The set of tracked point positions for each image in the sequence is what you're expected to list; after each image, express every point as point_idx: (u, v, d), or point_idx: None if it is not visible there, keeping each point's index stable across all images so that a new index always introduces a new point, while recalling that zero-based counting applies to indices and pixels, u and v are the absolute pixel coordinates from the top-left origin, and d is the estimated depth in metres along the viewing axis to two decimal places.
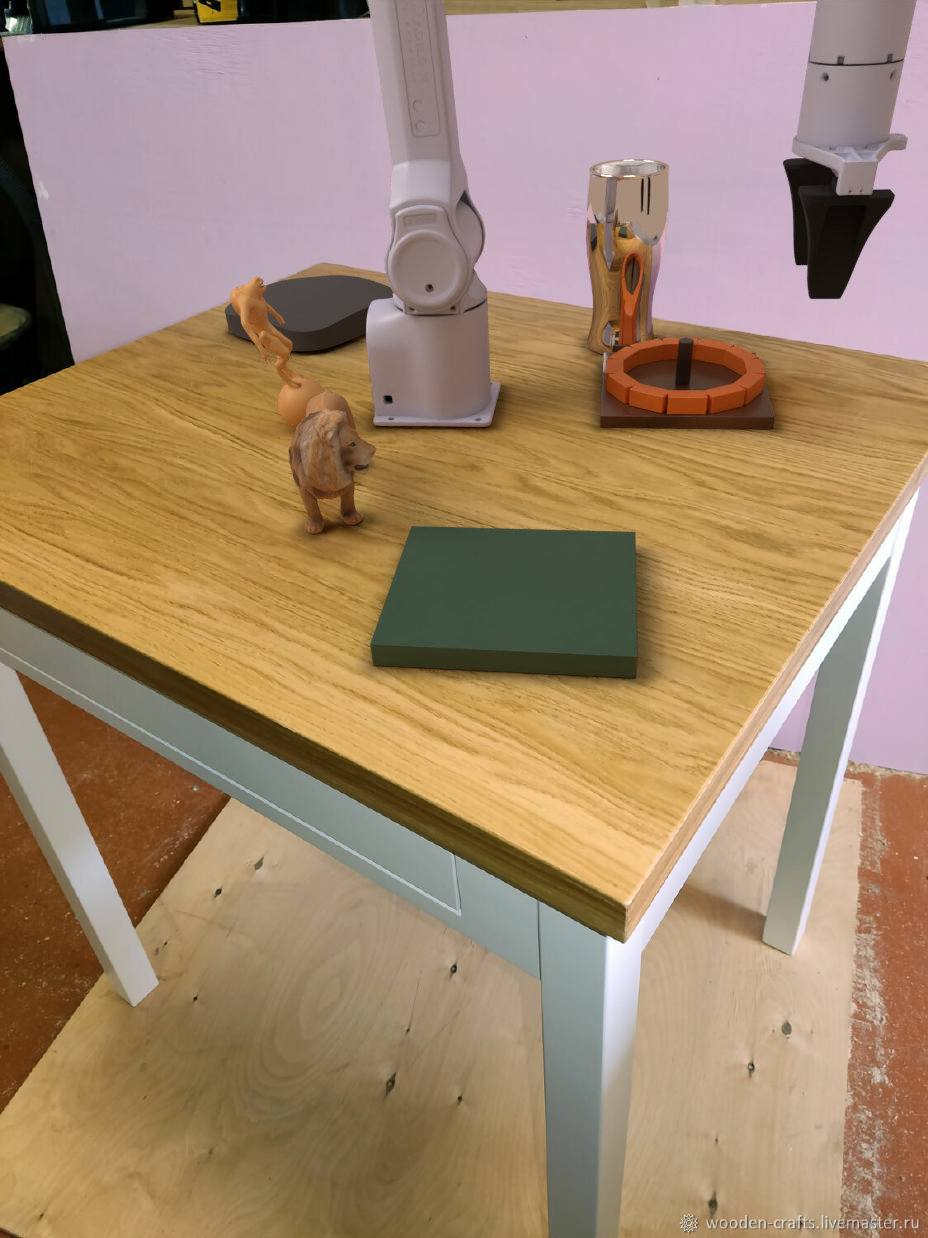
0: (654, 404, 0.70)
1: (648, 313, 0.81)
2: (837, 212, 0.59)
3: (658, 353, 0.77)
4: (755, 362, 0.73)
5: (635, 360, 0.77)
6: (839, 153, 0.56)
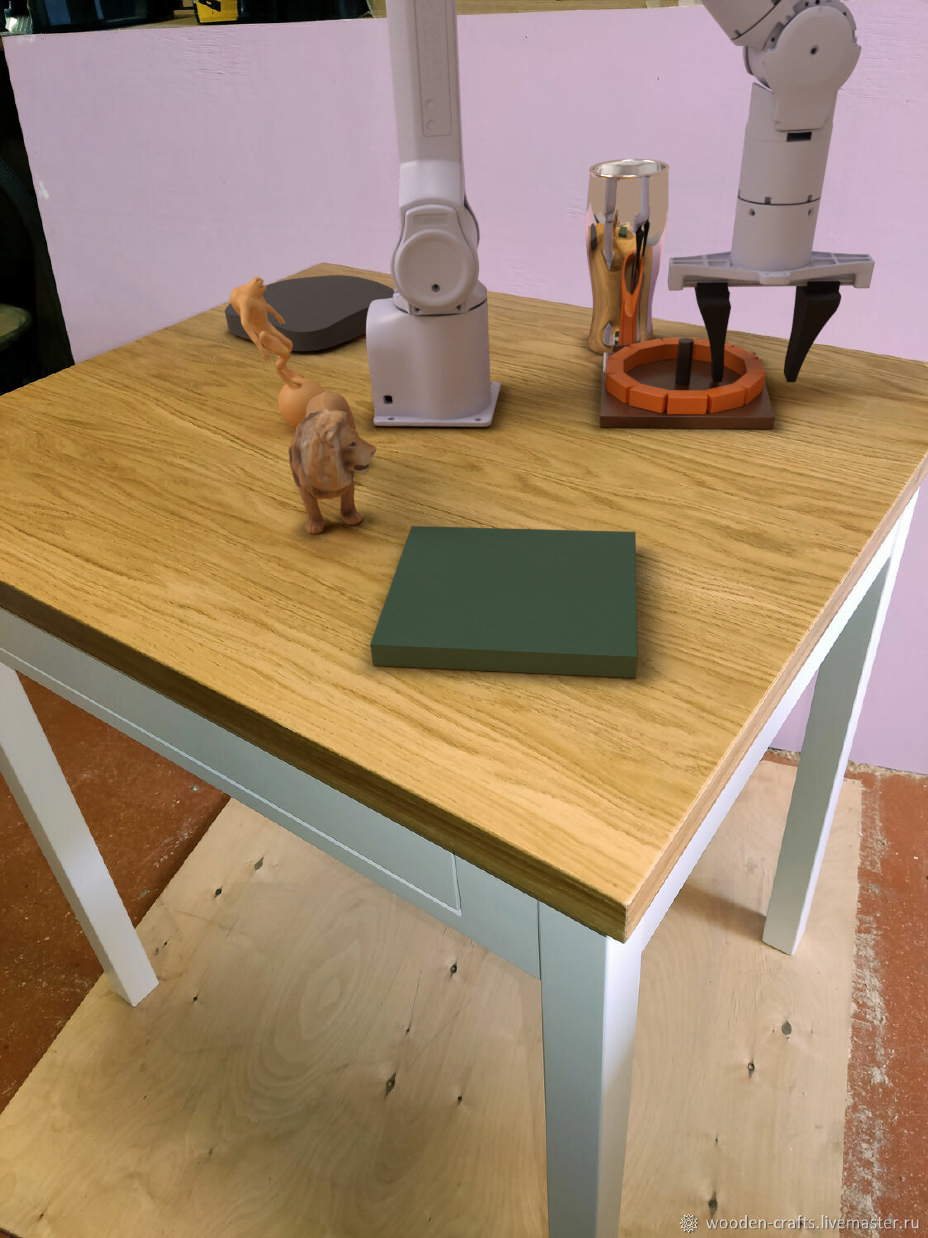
0: (654, 404, 0.70)
1: (648, 313, 0.81)
2: None
3: (658, 353, 0.77)
4: (755, 362, 0.73)
5: (635, 360, 0.77)
6: (704, 257, 0.69)
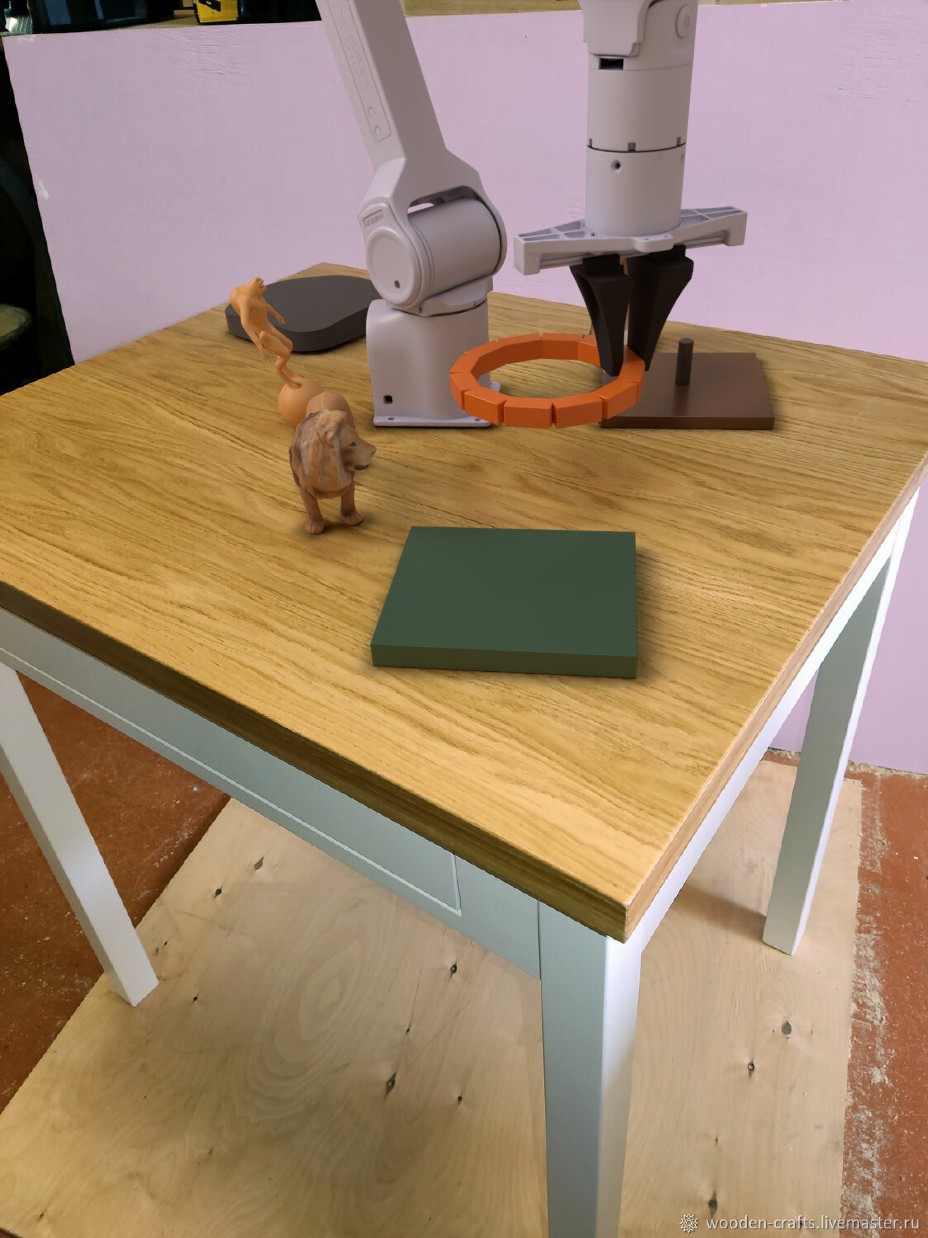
0: (539, 419, 0.55)
1: None
2: None
3: (500, 357, 0.63)
4: None
5: (478, 370, 0.61)
6: (554, 230, 0.55)
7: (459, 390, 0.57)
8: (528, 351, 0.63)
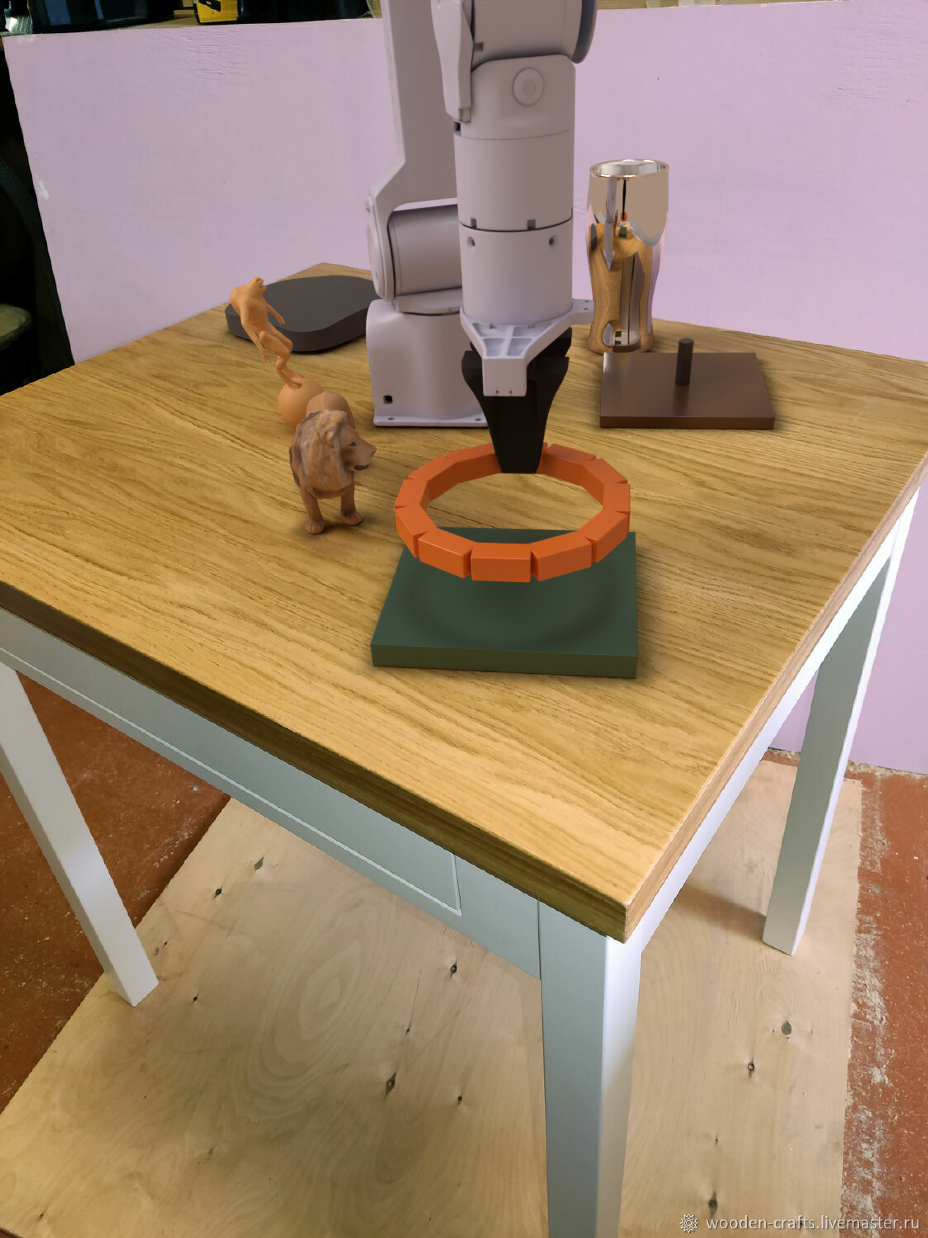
0: (620, 533, 0.46)
1: (648, 313, 0.81)
2: None
3: None
4: None
5: None
6: (491, 339, 0.44)
7: (524, 561, 0.44)
8: (426, 500, 0.50)
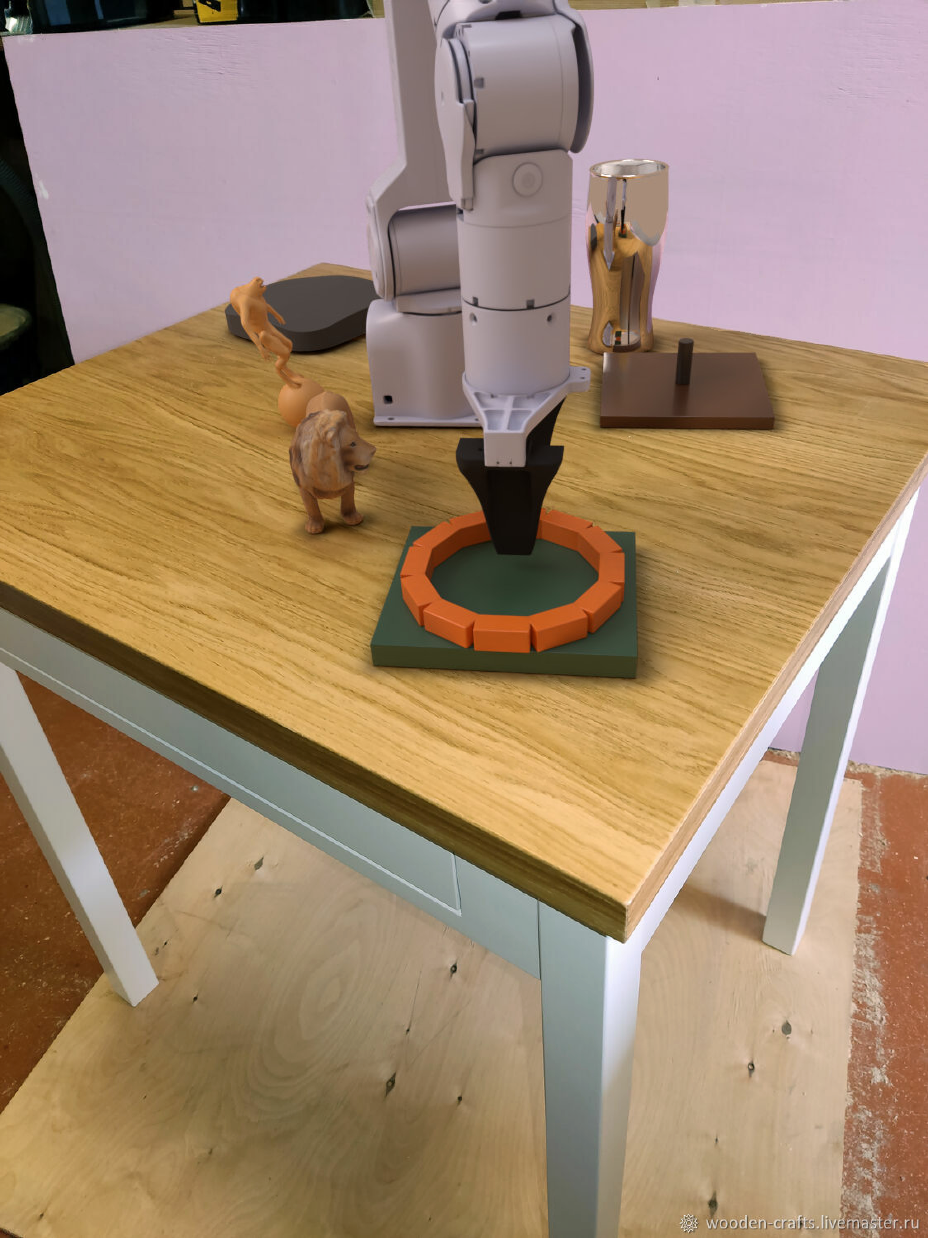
0: (615, 603, 0.49)
1: (648, 313, 0.81)
2: None
3: None
4: None
5: None
6: (492, 410, 0.46)
7: (523, 634, 0.46)
8: (430, 568, 0.52)
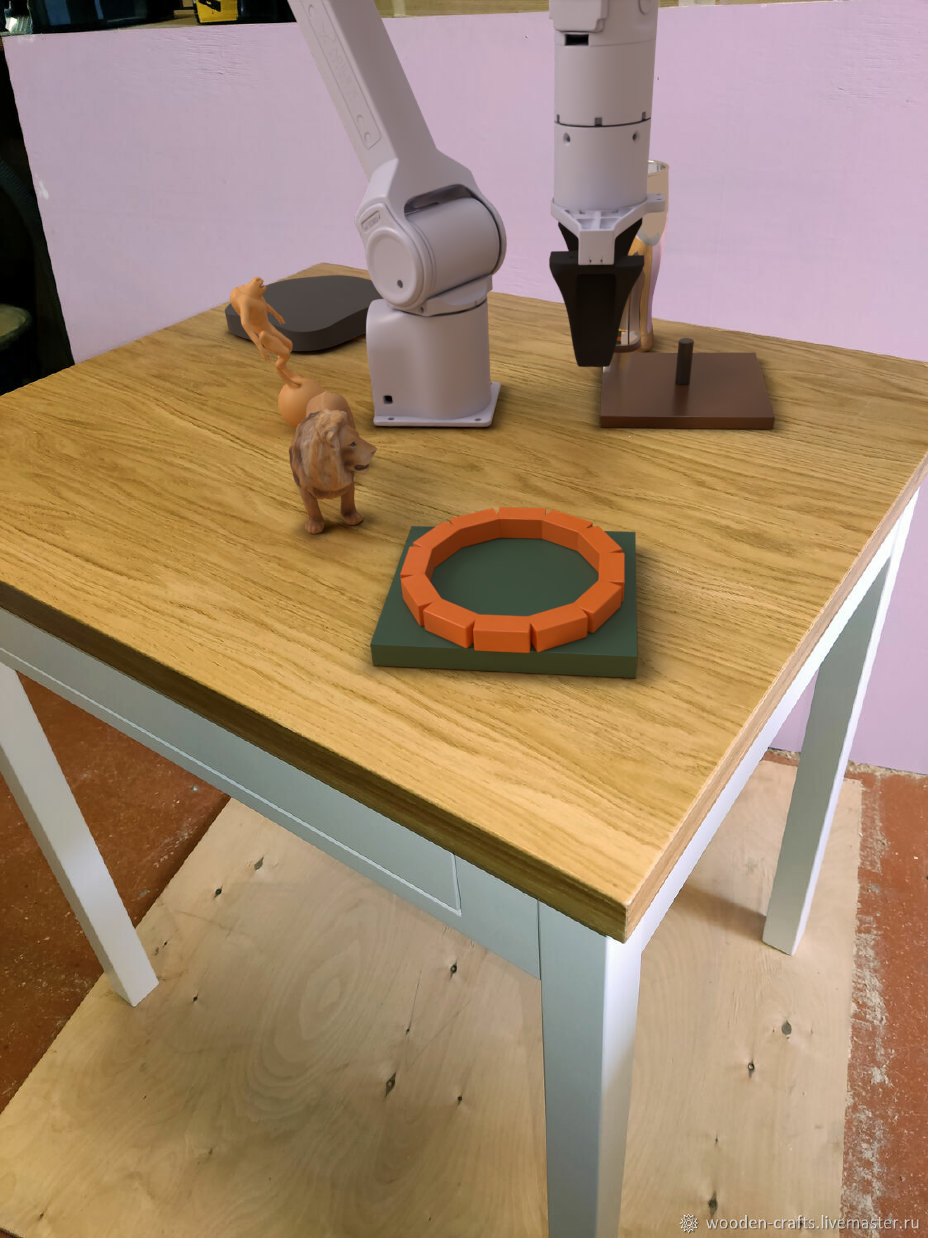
0: (615, 603, 0.49)
1: (648, 313, 0.81)
2: (591, 279, 0.55)
3: None
4: (511, 511, 0.56)
5: None
6: (583, 219, 0.53)
7: (523, 634, 0.46)
8: (430, 568, 0.52)
